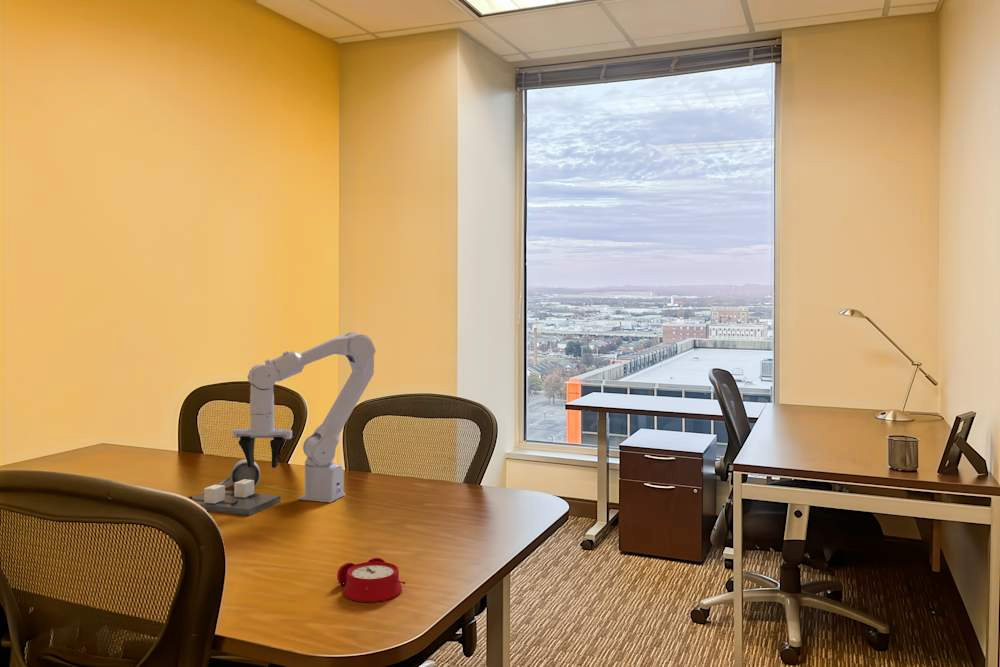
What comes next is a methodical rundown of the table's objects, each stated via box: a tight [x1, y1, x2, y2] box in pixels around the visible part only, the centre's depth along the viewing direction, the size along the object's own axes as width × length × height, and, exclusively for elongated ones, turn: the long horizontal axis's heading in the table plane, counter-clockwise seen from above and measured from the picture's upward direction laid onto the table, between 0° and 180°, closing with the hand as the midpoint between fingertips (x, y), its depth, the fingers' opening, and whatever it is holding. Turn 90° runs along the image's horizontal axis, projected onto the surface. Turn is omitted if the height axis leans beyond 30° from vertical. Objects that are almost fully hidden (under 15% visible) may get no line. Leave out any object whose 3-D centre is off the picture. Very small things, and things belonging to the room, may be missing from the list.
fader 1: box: [203, 484, 226, 504], centre depth 193 cm, size 3×4×4 cm
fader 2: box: [233, 479, 255, 498], centre depth 199 cm, size 3×4×4 cm
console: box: [187, 489, 281, 516], centre depth 196 cm, size 20×13×2 cm, turn 72°
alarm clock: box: [336, 557, 406, 603], centre depth 142 cm, size 10×6×15 cm
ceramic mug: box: [218, 458, 261, 489], centre depth 213 cm, size 11×8×8 cm
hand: (262, 466), depth 197 cm, fingers open, 5 cm apart
